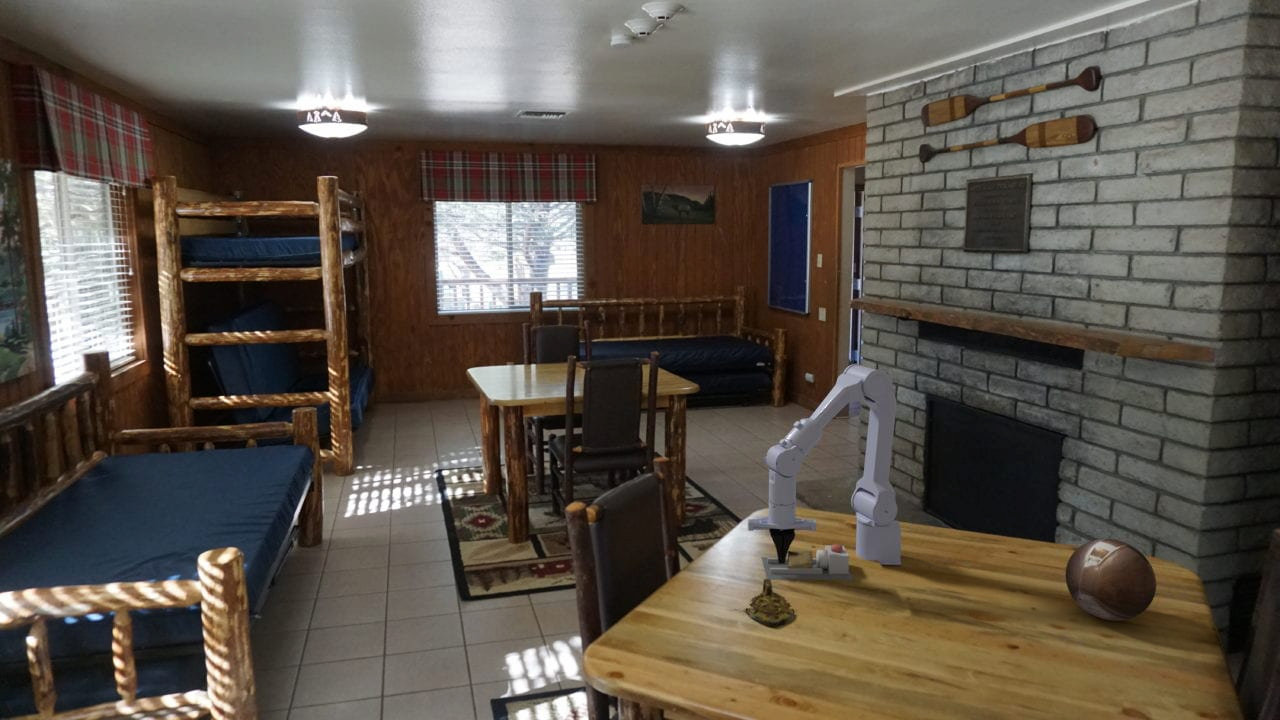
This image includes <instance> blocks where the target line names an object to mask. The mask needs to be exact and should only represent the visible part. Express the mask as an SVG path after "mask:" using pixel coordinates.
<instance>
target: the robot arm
mask: <svg viewBox="0 0 1280 720" xmlns="http://www.w3.org/2000/svg"><path fill="white" fill-rule="evenodd" d="M893 382H894V380H893V379H892V377H890V376H889V375H888V374H887V373H886V372H885V371H883V370H881V369H874V368H870V367H867V366H863V365H862V364H859V363H853V364H850V365H849V366H847V367H846V368H845V369H844V371H843V373H841V374H839V375H838V377H837V380H836V382H835V385H834V386H833V388H832V389H831V390H830V391H829V393H828V394H827V396H825V398H824V399H823V400H822V401H821V403H820V404H819V405H818V407H817V408H816V409H815V411H814V412H813V413H812V414H811V415H810V417H809V418H807V417H806V418H801V419H800V420H799V421H795V422H794V423H793V428H792V429H791V430H790V431H789V432H788V434H786V436H785V437H784V438H781V439H780V441H779V444H776V445H772V446H771V447H770V448H769V449H768V450H767V452H766V456H764V457H763V461H764V464H765V466H766V467H767V469H768V516H767V517H763V518H762V517H761V518H748V519H747V531H748V532H749V531H750V532H753V531H754V530H755V531H759V530H763V531H769V534H770V537H771V539H772V541H773V544H774V547H775V550H776V555H777V556H776V557H778V562H779V563H785V559H786V557H787V552H788V551H789V549H790V547H791V545H792V543H793V542H794V539H795V537H796V532H795V531H811V532H817V526H818V525H817V521H816V519H808V518H801V517H800V518H799V517H796V514H797V512H796V511H797V510H796V509H797V508H796V507H797V505H796V504H797V473H798V472H800V471H801V469H802V466H803V461H804V459H805V457H806V456H807V455H808V453H809V452H810V451H811V450H812V449H813V448H814V447H815V446H816V444H817V443H818V442H819V441H820V440H821V438H822V436H823V428H824V427H826V425H827V424H828V423H829V422H830V421H831V420H832V419H833V418H835V416H837V414H838V413H839V412H840V411H842V410H843V409H844V407H845V406H847V405H848V404H850V403H859V402H864V403H865V405H867V406H868V407H869V415H868V426H867V435H866V444H865V445H866V446H865V456H864V467H863V468H864V469H863V475H862V477H861V478H860V479H858V480H857V481H856V485H855V489H854V492H853V493H852V495H851V499H850V505H851V508H852V509H853V510H854V511H855V517H856V533H855V555H856V557H858V558H859V559H862V560H865V561H871V562H872V561H873V562H878V563H879V565H880V566H901V565H902V562H901V551H902V550H901V549H902V529H901V525H900V522H899V520H895V519H896V517H897V515H898V505H897V502H896V491H895V489H894V487H893V485H892V484H891V481H890V472H891V471H890V469H891V464H892V463H891V460H892V451H893V442H894V441H893V440H894V433H895V425H896V424H895V422H896V412H897V405H898V404H897V403H898V402H897V398H896V395H895V392H894V389H893V384H894V383H893Z"/></svg>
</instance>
